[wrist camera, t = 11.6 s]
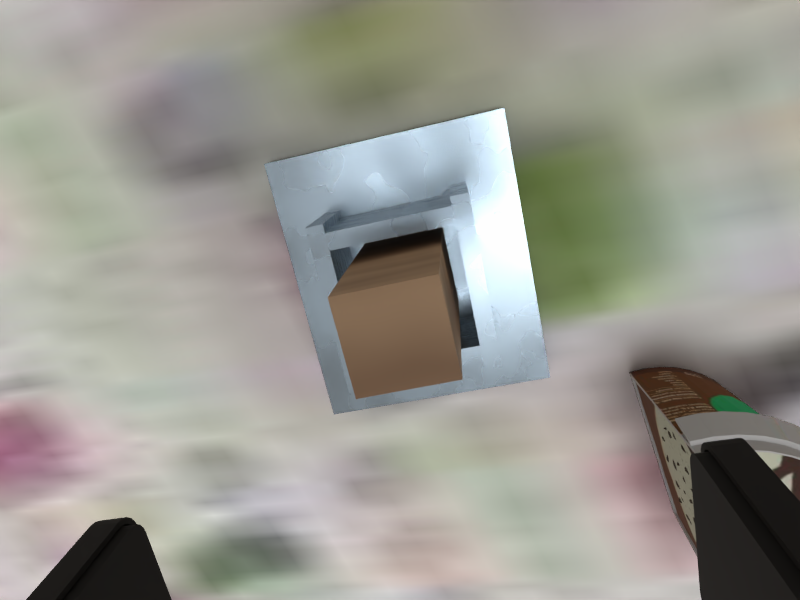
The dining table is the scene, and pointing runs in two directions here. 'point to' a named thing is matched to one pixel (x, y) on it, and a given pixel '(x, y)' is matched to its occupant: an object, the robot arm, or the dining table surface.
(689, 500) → the food container
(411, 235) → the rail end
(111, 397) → the dining table surface
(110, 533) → the robot arm
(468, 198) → the cup bracket
